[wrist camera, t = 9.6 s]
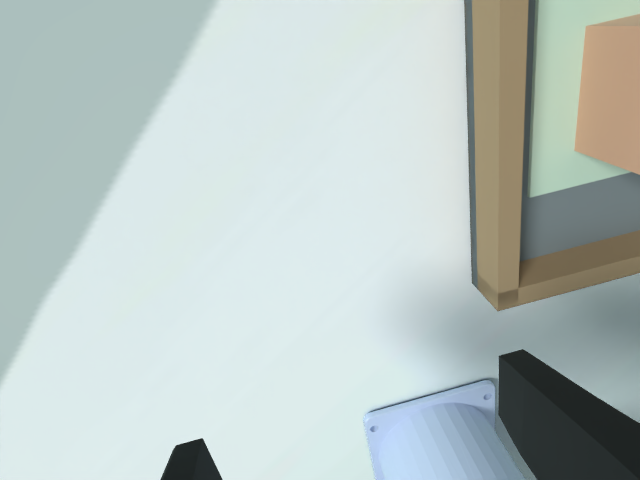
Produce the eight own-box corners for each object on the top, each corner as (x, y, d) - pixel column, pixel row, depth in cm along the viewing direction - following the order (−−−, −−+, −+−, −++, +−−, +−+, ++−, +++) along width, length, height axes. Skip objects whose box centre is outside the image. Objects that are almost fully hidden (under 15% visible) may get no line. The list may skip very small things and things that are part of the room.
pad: (705, 151, 20) (709, 152, 20) (527, 196, 20) (530, 197, 20) (759, -79, 16) (765, -80, 16) (536, -31, 16) (540, -31, 15)
